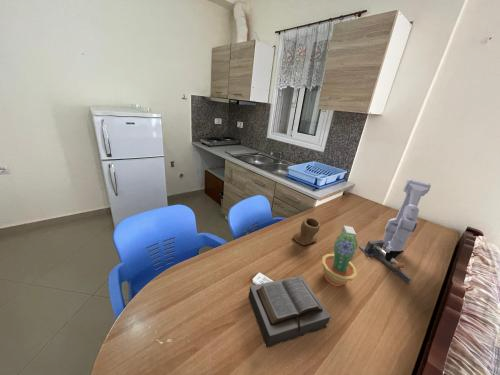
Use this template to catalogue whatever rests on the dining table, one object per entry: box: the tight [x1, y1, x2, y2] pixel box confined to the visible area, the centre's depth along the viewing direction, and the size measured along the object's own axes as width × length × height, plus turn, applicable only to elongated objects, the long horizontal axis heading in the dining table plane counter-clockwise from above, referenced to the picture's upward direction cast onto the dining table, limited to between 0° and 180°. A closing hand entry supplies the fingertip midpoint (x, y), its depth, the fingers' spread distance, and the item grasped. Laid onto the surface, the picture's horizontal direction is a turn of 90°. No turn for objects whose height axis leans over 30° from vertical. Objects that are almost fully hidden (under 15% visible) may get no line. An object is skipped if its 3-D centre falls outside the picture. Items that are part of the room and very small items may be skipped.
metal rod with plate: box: [374, 244, 406, 269], centre depth 111 cm, size 6×20×3 cm, turn 14°
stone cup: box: [292, 217, 321, 246], centre depth 117 cm, size 15×12×15 cm
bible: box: [247, 275, 332, 349], centre depth 74 cm, size 23×27×10 cm
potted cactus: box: [321, 232, 359, 287], centre depth 90 cm, size 15×15×25 cm
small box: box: [339, 225, 357, 238], centre depth 119 cm, size 8×6×10 cm
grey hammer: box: [358, 239, 412, 284], centre depth 109 cm, size 12×26×7 cm, turn 14°
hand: (389, 259), depth 108 cm, fingers closed on metal rod with plate, 3 cm apart
